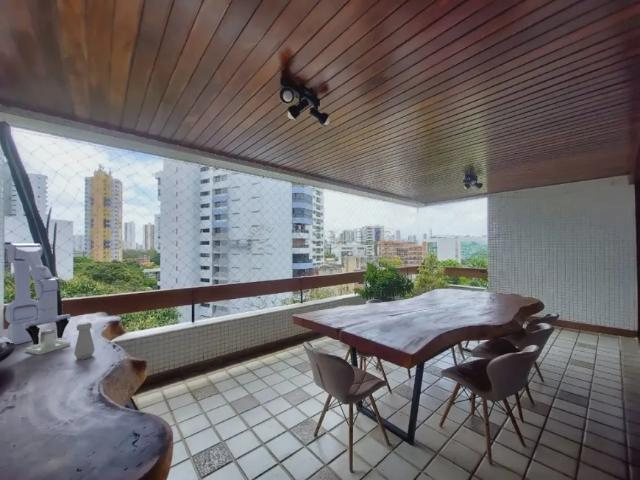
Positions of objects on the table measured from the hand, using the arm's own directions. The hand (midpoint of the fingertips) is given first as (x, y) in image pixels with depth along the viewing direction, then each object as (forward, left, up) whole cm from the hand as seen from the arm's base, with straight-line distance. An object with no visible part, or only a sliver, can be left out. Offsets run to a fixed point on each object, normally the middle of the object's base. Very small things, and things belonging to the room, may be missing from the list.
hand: (48, 340), depth 114 cm
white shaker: (0, 0, -3) cm, 3 cm away
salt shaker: (+26, -1, -3) cm, 26 cm away
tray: (0, 0, -3) cm, 3 cm away
